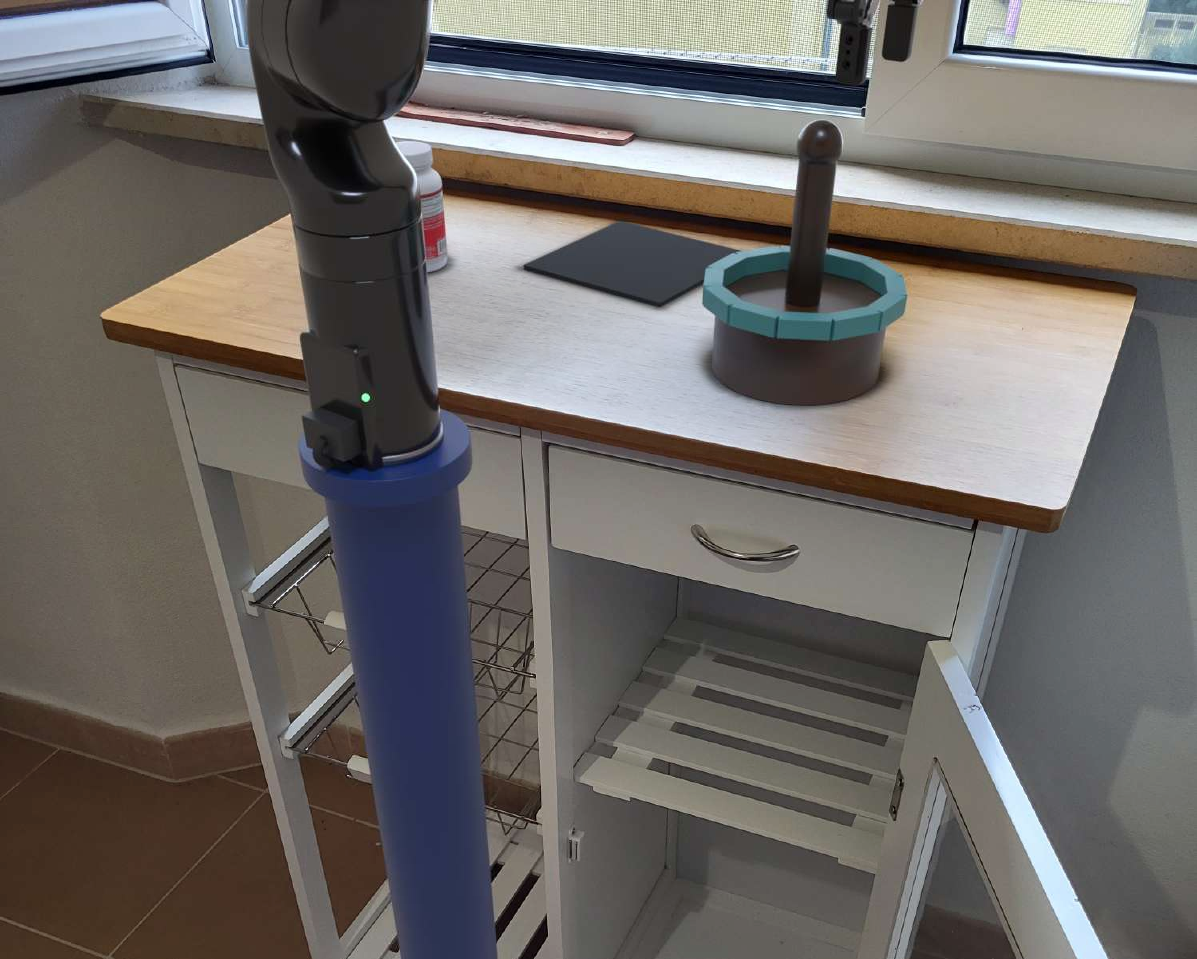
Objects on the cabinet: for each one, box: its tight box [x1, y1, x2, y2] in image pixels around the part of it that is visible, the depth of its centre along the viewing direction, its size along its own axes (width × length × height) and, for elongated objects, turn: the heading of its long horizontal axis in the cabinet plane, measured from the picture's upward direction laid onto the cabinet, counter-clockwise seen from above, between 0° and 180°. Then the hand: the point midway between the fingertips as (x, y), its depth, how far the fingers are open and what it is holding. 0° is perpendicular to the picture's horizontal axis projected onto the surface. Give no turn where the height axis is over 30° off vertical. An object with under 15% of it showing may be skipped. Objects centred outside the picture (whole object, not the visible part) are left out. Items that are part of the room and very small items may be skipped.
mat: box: [522, 220, 741, 308], centre depth 127 cm, size 17×17×1 cm
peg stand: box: [711, 118, 887, 406], centre depth 102 cm, size 15×15×20 cm
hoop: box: [701, 245, 908, 341], centre depth 104 cm, size 17×17×2 cm
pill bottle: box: [394, 140, 448, 273], centre depth 123 cm, size 6×6×11 cm
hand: (873, 71), depth 95 cm, fingers open, 8 cm apart
